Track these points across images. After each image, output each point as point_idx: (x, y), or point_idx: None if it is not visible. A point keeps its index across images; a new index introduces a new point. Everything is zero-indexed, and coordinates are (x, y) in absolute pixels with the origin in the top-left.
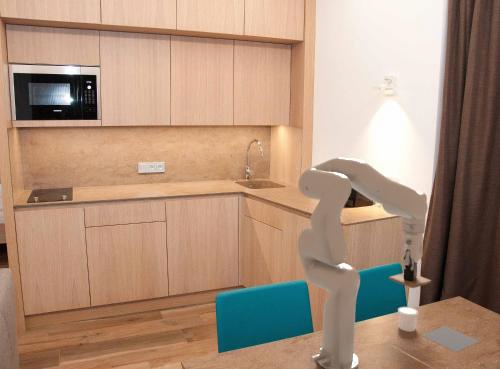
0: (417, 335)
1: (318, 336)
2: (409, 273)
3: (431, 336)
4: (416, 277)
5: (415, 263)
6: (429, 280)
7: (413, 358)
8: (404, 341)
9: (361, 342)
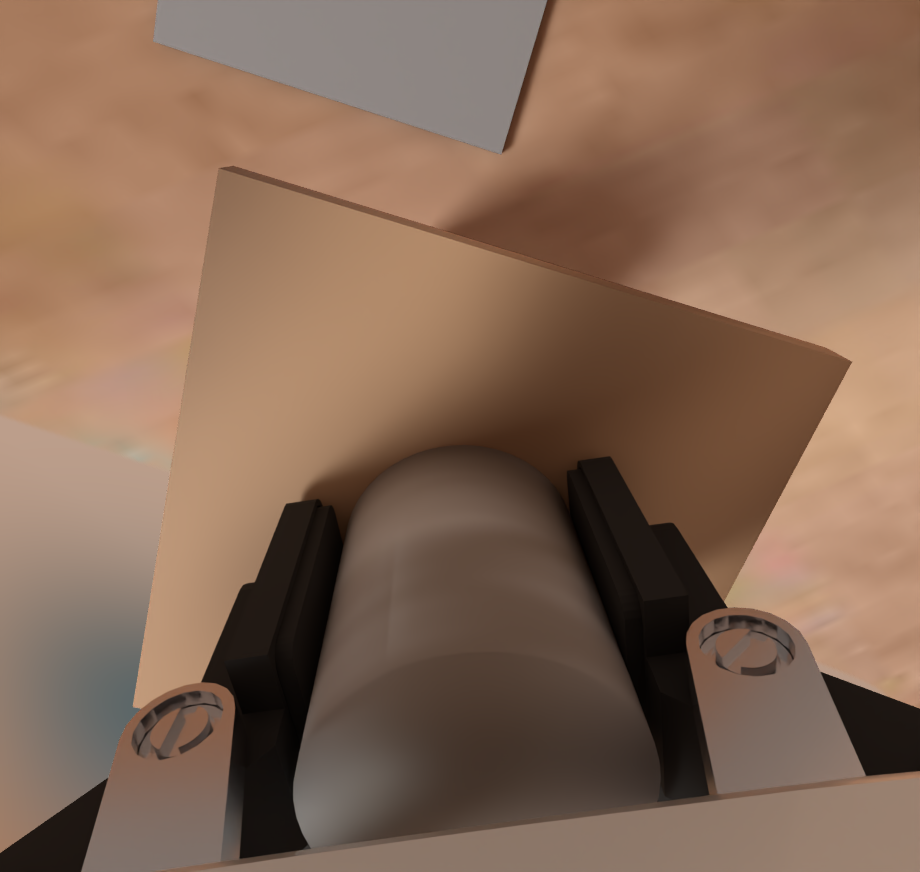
0: (496, 192)
1: (907, 677)
2: (715, 608)
3: (461, 70)
4: (304, 489)
5: (242, 766)
6: (265, 207)
7: (910, 57)
8: (666, 235)
9: (852, 464)
